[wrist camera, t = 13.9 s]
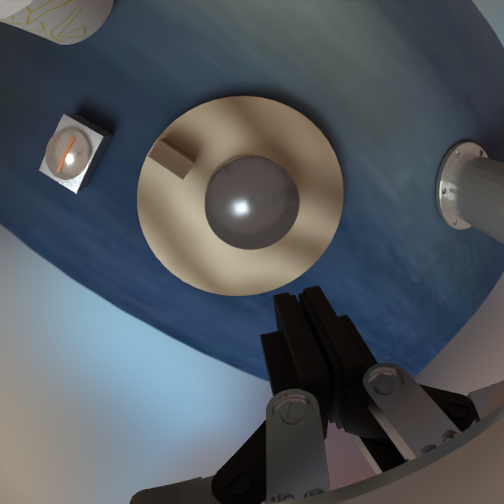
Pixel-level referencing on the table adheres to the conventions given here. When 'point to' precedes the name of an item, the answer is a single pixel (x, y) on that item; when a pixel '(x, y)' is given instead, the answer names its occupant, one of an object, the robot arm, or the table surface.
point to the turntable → (195, 181)
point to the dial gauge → (74, 152)
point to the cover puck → (251, 202)
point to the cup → (57, 17)
